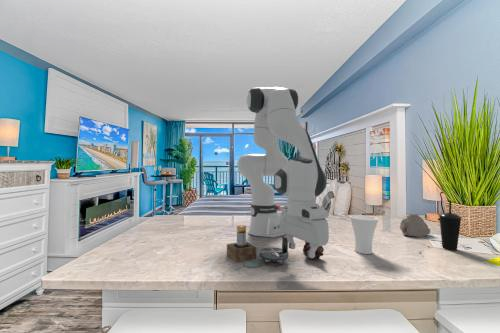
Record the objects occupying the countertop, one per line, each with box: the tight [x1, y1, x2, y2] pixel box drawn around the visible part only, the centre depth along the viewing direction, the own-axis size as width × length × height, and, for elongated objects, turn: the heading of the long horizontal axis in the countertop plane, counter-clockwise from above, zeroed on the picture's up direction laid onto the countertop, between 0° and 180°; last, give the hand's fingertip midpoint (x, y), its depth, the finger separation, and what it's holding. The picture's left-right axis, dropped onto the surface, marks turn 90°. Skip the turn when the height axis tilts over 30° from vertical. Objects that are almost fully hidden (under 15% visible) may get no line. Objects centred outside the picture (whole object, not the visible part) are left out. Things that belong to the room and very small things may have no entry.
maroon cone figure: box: [302, 241, 325, 260], centre depth 94 cm, size 7×7×15 cm
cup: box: [349, 214, 380, 255], centre depth 103 cm, size 10×10×14 cm
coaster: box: [243, 259, 261, 269], centre depth 87 cm, size 6×6×1 cm
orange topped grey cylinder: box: [236, 225, 247, 248], centre depth 95 cm, size 3×3×11 cm
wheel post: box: [264, 259, 284, 266], centre depth 90 cm, size 6×6×1 cm
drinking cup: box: [438, 200, 463, 252], centre depth 108 cm, size 8×8×20 cm
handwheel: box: [259, 235, 290, 261], centre depth 90 cm, size 10×10×6 cm
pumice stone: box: [399, 213, 431, 238], centre depth 130 cm, size 15×8×10 cm, turn 100°
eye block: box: [226, 241, 257, 263], centre depth 95 cm, size 8×8×4 cm
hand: (301, 252), depth 82 cm, fingers open, 8 cm apart
